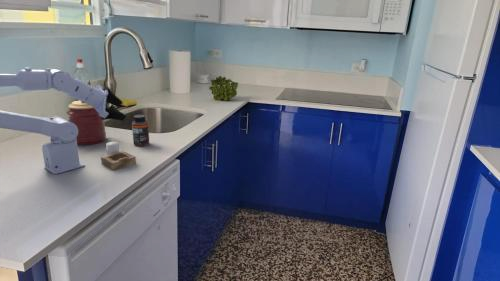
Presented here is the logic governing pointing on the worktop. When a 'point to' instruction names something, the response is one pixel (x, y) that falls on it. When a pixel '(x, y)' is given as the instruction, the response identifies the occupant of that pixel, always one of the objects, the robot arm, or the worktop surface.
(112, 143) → the plug
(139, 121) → the supplement bottle
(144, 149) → the worktop surface
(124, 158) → the socket block
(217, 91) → the green broccoli head
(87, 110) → the canister
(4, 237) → the worktop surface
